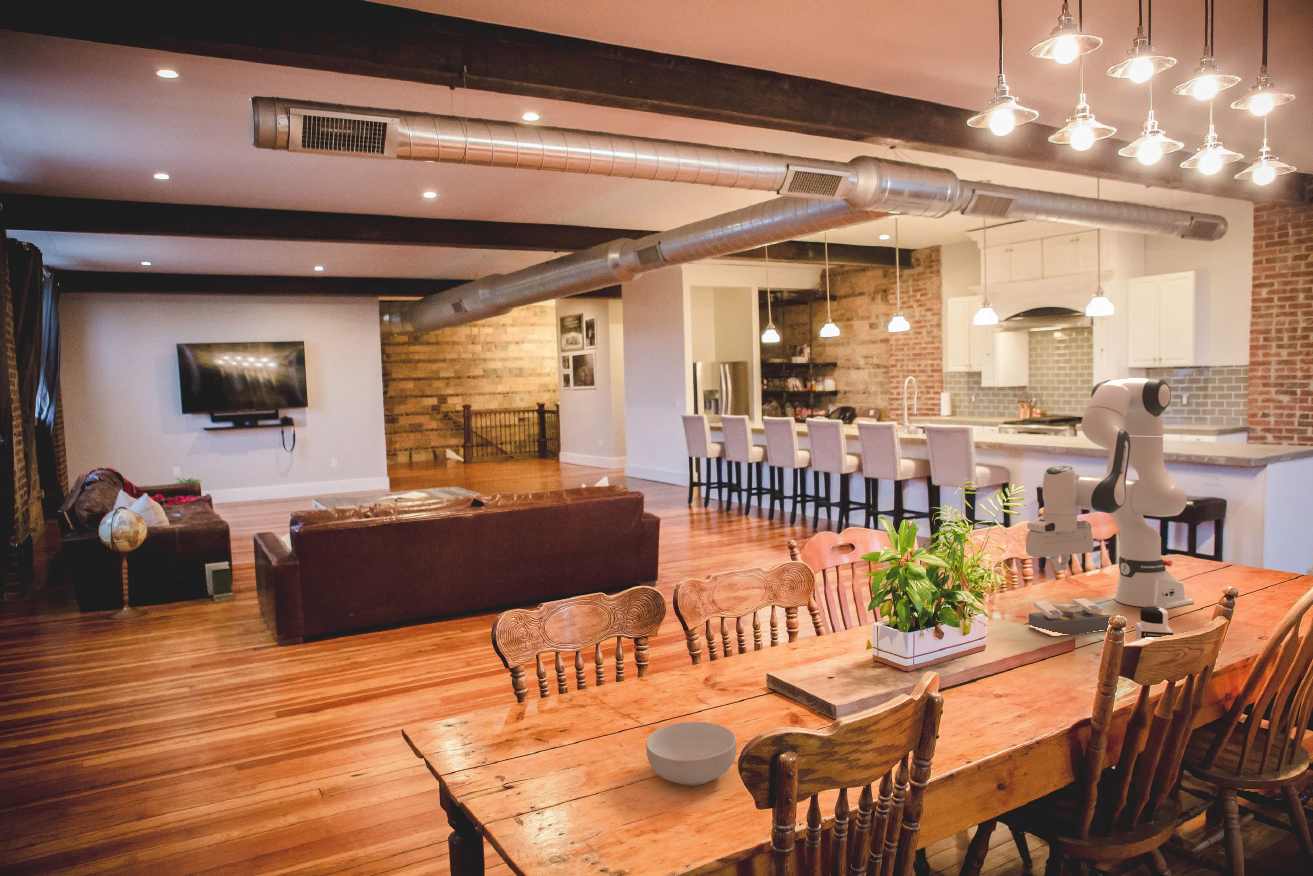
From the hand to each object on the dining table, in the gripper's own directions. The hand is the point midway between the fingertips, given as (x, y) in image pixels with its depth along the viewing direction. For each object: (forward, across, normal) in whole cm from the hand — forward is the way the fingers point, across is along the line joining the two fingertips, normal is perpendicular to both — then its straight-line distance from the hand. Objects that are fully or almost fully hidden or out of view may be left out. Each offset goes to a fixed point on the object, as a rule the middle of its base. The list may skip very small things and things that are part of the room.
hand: (1060, 570), depth 235 cm
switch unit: (+16, -1, +3) cm, 17 cm away
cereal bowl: (+15, +127, +58) cm, 141 cm away
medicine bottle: (+17, -5, +28) cm, 33 cm away
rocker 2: (+10, 0, +3) cm, 11 cm away
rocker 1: (+10, +7, +3) cm, 13 cm away
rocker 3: (+10, -6, +3) cm, 12 cm away
